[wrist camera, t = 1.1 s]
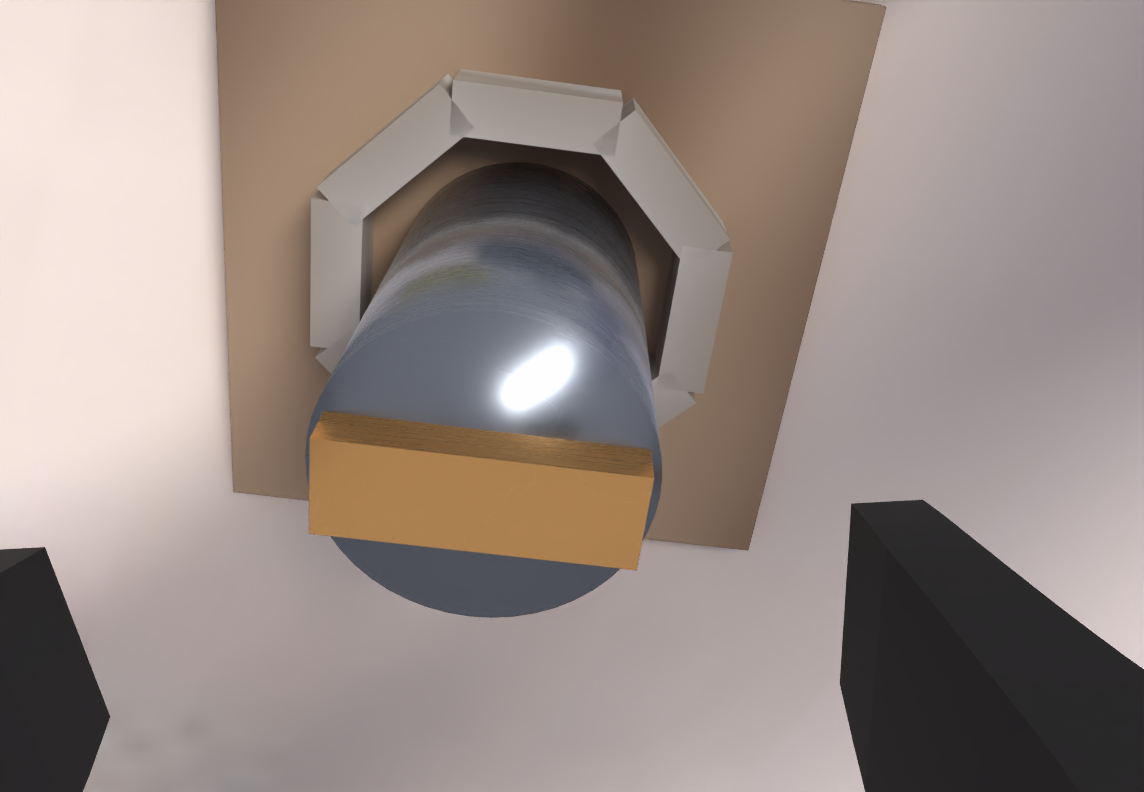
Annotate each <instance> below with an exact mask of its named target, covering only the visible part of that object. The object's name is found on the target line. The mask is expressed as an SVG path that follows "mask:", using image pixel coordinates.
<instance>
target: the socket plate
mask: <svg viewBox="0 0 1144 792" xmlns="http://www.w3.org/2000/svg"><path fill="white" fill-rule="evenodd" d="M215 4H216V32H217V59H218V86H219V114H220V141H221V168H222V196H223V223H224V250H225V278H226V305H227V332H228V360H229V387H230V415H231V442H232V469H233V492H239V493H247V494H256V495H265V496H274V497H283V498H291V499H300V500H309V485H308V481H307V476H306V463H305V450H306V438H307V433H308V428H309V424H310V420H311V416H312V414H313V411H314V409H315V406H316V404H317V402H318V399H319V397H320V395H321V393H322V391H323V389H324V388H325V386H326V384H327V382H328V380H329V378H330V376H331V375H332V373H333V371H334V369H335V367H336V365H337V364H338V362H339V360H340V358H341V356H342V354H343V352H344V351H345V349H346V347H347V345H348V343H349V341H350V339H351V338H352V336H353V334H354V332H355V330H356V328H357V326H358V325H359V323H360V321H361V319H362V317H363V315H364V314H365V312H366V310H367V308H368V306H369V304H370V302H371V301H372V299H373V297H374V295H375V293H376V291H377V289H378V288H379V286H380V284H381V282H382V280H383V278H384V276H385V275H386V273H387V271H388V269H389V267H390V265H391V264H392V262H393V260H394V258H395V256H396V254H397V252H398V251H399V249H400V247H401V245H402V243H403V241H404V239H405V238H406V236H407V234H408V232H409V230H410V228H411V226H412V225H413V223H414V221H415V219H416V218H417V216H418V214H419V213H420V211H421V209H422V208H423V207H424V206H425V205H426V203H427V202H428V201H429V200H430V198H431V197H432V196H433V195H435V194H436V193H437V192H438V191H439V190H440V189H441V188H442V187H443V186H445V185H446V184H448V183H449V182H451V181H452V180H454V179H455V178H457V177H459V176H461V175H463V174H465V173H467V172H469V171H471V170H474V169H477V168H480V167H483V166H487V165H492V164H497V163H505V162H528V163H536V164H541V165H546V166H550V167H553V168H556V169H559V170H562V171H565V172H567V173H569V174H571V175H573V176H575V177H577V178H579V179H580V180H582V181H583V182H585V183H586V184H588V185H589V186H591V187H592V188H593V189H595V190H596V191H597V192H598V193H599V194H600V195H601V196H603V197H604V198H605V200H606V201H607V202H608V203H609V204H610V205H611V206H612V207H613V209H614V210H615V211H616V213H617V214H618V216H619V217H620V219H621V220H622V222H623V224H624V226H625V228H626V230H627V232H628V234H629V236H630V239H631V242H632V245H633V248H634V252H635V258H636V263H637V271H638V278H639V286H640V294H641V302H642V309H643V317H644V325H645V332H646V340H647V348H648V356H649V363H650V371H651V379H652V387H653V394H654V402H655V410H656V418H657V425H658V433H659V441H660V449H661V456H662V485H661V493H660V499H659V503H658V506H657V510H656V513H655V517H654V519H653V521H652V523H651V526H650V528H649V530H648V532H647V534H646V536H645V538H644V539H652V540H661V541H670V542H678V543H687V544H696V545H705V546H713V547H722V548H731V549H740V550H748V549H749V545H750V542H751V538H752V534H753V530H754V526H755V522H756V518H757V514H758V510H759V506H760V502H761V498H762V494H763V490H764V486H765V482H766V478H767V475H768V471H769V467H770V463H771V459H772V455H773V451H774V447H775V443H776V439H777V435H778V431H779V427H780V423H781V419H782V415H783V412H784V408H785V404H786V400H787V396H788V392H789V388H790V384H791V380H792V376H793V372H794V368H795V364H796V360H797V356H798V352H799V348H800V345H801V341H802V337H803V333H804V329H805V325H806V321H807V317H808V313H809V309H810V305H811V301H812V297H813V293H814V289H815V285H816V281H817V278H818V274H819V270H820V266H821V262H822V258H823V254H824V250H825V246H826V242H827V238H828V234H829V230H830V226H831V222H832V218H833V214H834V211H835V207H836V203H837V199H838V195H839V191H840V187H841V183H842V179H843V175H844V171H845V167H846V163H847V159H848V155H849V151H850V148H851V144H852V140H853V136H854V132H855V128H856V124H857V120H858V116H859V112H860V108H861V104H862V100H863V96H864V92H865V88H866V84H867V81H868V77H869V73H870V69H871V65H872V61H873V57H874V53H875V49H876V45H877V41H878V37H879V33H880V29H881V25H882V21H883V17H884V14H885V10H886V7H885V6H882V5H879V4H872V3H865V2H858V1H850V0H215Z"/></svg>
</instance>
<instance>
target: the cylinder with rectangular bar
mask: <svg viewBox="0 0 1144 792" xmlns="http://www.w3.org/2000/svg"><path fill="white" fill-rule="evenodd" d="M305 463H306V476H307V481H308V485H309V534H317V535H326V536H331V537H332V539H333V540H334V541H335V543H336V544H337V546H338V547H339V548H340V550H341V551H342V552H343V553H344V554H345V555H346V556H347V557H348V558H349V559H350V560H351V561H352V562H353V563H354V564H355V565H356V566H357V567H358V568H359V569H361V570H362V571H363V572H364V573H365V574H367V575H368V576H369V577H370V578H372V579H373V580H375V581H376V582H378V583H379V584H381V585H382V586H384V587H385V588H387V589H388V590H390V591H392V592H394V593H396V594H398V595H400V596H402V597H404V598H406V599H408V600H410V601H413V602H416V603H418V604H421V605H423V606H426V607H429V608H433V609H436V610H440V611H444V612H447V613H453V614H459V615H465V616H474V617H491V618H492V617H513V616H520V615H526V614H533V613H537V612H541V611H545V610H548V609H552V608H555V607H558V606H561V605H563V604H566V603H568V602H571V601H573V600H575V599H577V598H579V597H581V596H583V595H585V594H587V593H589V592H591V591H592V590H594V589H595V588H597V587H598V586H599V585H601V584H602V583H604V582H605V581H607V580H608V579H609V578H610V577H612V576H613V575H614V574H615V573H616V572H617V571H618V570H619V569H629V570H637V565H638V560H639V555H640V550H641V545H642V541H643V539H644V538H645V536H646V534H647V532H648V530H649V528H650V526H651V523H652V521H653V519H654V517H655V513H656V510H657V506H658V503H659V499H660V493H661V485H662V456H661V449H660V441H659V433H658V425H657V418H656V410H655V402H654V394H653V387H652V379H651V371H650V363H649V356H648V348H647V340H646V332H645V325H644V317H643V309H642V302H641V294H640V286H639V278H638V271H637V263H636V258H635V252H634V248H633V245H632V242H631V239H630V236H629V234H628V232H627V230H626V228H625V226H624V224H623V222H622V220H621V219H620V217H619V216H618V214H617V213H616V211H615V210H614V209H613V207H612V206H611V205H610V204H609V203H608V202H607V201H606V200H605V198H604V197H603V196H601V195H600V194H599V193H598V192H597V191H596V190H595V189H593V188H592V187H591V186H589V185H588V184H586V183H585V182H583V181H582V180H580V179H579V178H577V177H575V176H573V175H571V174H569V173H567V172H565V171H562V170H559V169H556V168H553V167H550V166H546V165H541V164H536V163H528V162H505V163H497V164H492V165H487V166H483V167H480V168H477V169H474V170H471V171H469V172H467V173H465V174H463V175H461V176H459V177H457V178H455V179H454V180H452V181H451V182H449V183H448V184H446V185H445V186H443V187H442V188H441V189H440V190H439V191H438V192H437V193H436V194H435V195H433V196H432V197H431V198H430V200H429V201H428V202H427V203H426V205H425V206H424V207H423V208H422V209H421V211H420V213H419V214H418V216H417V218H416V219H415V221H414V223H413V225H412V226H411V228H410V230H409V232H408V234H407V236H406V238H405V239H404V241H403V243H402V245H401V247H400V249H399V251H398V252H397V254H396V256H395V258H394V260H393V262H392V264H391V265H390V267H389V269H388V271H387V273H386V275H385V276H384V278H383V280H382V282H381V284H380V286H379V288H378V289H377V291H376V293H375V295H374V297H373V299H372V301H371V302H370V304H369V306H368V308H367V310H366V312H365V314H364V315H363V317H362V319H361V321H360V323H359V325H358V326H357V328H356V330H355V332H354V334H353V336H352V338H351V339H350V341H349V343H348V345H347V347H346V349H345V351H344V352H343V354H342V356H341V358H340V360H339V362H338V364H337V365H336V367H335V369H334V371H333V373H332V375H331V376H330V378H329V380H328V382H327V384H326V386H325V388H324V389H323V391H322V393H321V395H320V397H319V399H318V402H317V404H316V406H315V409H314V411H313V414H312V416H311V420H310V424H309V428H308V433H307V438H306V450H305Z"/></svg>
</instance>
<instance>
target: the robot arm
mask: <svg viewBox="0 0 1144 792" xmlns="http://www.w3.org/2000/svg"><path fill="white" fill-rule="evenodd" d="M840 686H841V691H842V695H843V699H844V704H845V708H846V713H847V717H848V721H849V726H850V730H851V735H852V739H853V743H854V747H855V751H856V756H857V760H858V764H859V768H860V772H861V776H862V780H863V784H864V788H865V792H1144V669H1142V668H1141V667H1140V666H1138V665H1137V664H1135V663H1134V662H1133V661H1131V660H1130V659H1128V658H1127V657H1126V656H1124V655H1123V654H1121V653H1120V652H1119V651H1117V650H1116V649H1115V648H1113V647H1112V646H1111V645H1109V644H1108V643H1107V642H1105V641H1104V640H1103V639H1101V638H1100V637H1098V636H1097V635H1096V634H1094V633H1093V632H1092V631H1091V630H1089V629H1088V628H1087V627H1085V626H1084V625H1083V624H1081V623H1080V622H1079V621H1077V620H1076V619H1075V618H1073V617H1072V616H1071V615H1069V614H1068V613H1067V612H1065V611H1064V610H1063V609H1062V608H1060V607H1059V606H1058V605H1056V604H1055V603H1054V602H1052V601H1051V600H1050V599H1049V598H1047V597H1046V596H1045V595H1043V594H1042V593H1041V592H1040V591H1038V590H1037V589H1036V588H1034V587H1033V586H1032V585H1031V584H1029V583H1028V582H1027V581H1026V580H1024V579H1023V578H1022V577H1021V576H1019V575H1018V574H1017V573H1016V572H1014V571H1013V570H1012V569H1010V568H1009V567H1008V566H1007V565H1005V564H1004V563H1003V562H1002V561H1000V560H999V559H998V558H997V557H995V556H994V555H993V554H992V553H990V552H989V551H988V550H987V549H985V548H984V547H983V546H982V545H980V544H979V543H978V542H977V541H975V540H974V539H973V538H972V537H970V536H969V535H968V534H967V533H965V532H964V531H963V530H962V529H960V528H959V527H958V526H957V525H955V524H954V523H953V522H951V521H950V520H949V519H948V518H946V517H945V516H944V515H942V514H941V513H940V512H939V511H937V510H936V509H935V508H933V507H932V506H931V505H929V504H928V503H927V502H925V501H924V500H911V501H892V502H874V503H855V504H851V519H850V534H849V550H848V565H847V581H846V596H845V612H844V627H843V642H842V658H841V673H840ZM109 718H110V715H109V713H108V710H107V707H106V705H105V702H104V700H103V697H102V694H101V692H100V689H99V686H98V684H97V681H96V679H95V676H94V673H93V671H92V668H91V666H90V663H89V660H88V658H87V655H86V653H85V650H84V647H83V645H82V642H81V640H80V637H79V634H78V632H77V629H76V627H75V624H74V621H73V619H72V616H71V614H70V611H69V608H68V606H67V603H66V601H65V598H64V595H63V593H62V590H61V588H60V585H59V582H58V580H57V577H56V575H55V572H54V569H53V567H52V564H51V562H50V559H49V556H48V554H47V551H46V549H45V547H40V548H22V549H3V550H0V792H83V790H84V787H85V785H86V782H87V780H88V777H89V775H90V772H91V769H92V766H93V763H94V761H95V758H96V755H97V752H98V749H99V747H100V744H101V741H102V738H103V735H104V733H105V730H106V727H107V724H108V721H109Z"/></svg>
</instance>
